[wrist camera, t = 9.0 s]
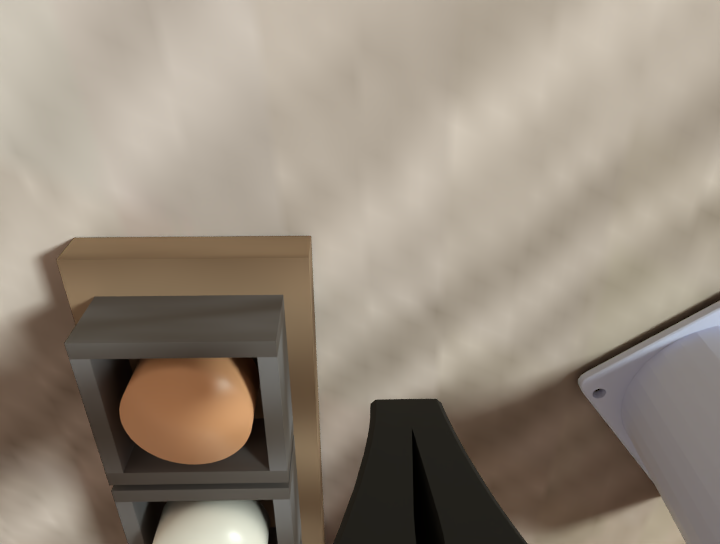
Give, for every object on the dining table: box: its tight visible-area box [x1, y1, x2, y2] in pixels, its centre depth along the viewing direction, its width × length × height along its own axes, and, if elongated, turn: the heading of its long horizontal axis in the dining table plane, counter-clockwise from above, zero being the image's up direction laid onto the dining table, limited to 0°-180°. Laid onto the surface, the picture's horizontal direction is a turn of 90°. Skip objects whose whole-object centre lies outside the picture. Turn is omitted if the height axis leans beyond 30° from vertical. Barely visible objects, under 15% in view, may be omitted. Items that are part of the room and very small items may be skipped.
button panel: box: [56, 236, 325, 544], centre depth 24 cm, size 22×8×4 cm, turn 0°
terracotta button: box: [119, 357, 260, 464], centre depth 20 cm, size 4×4×2 cm
